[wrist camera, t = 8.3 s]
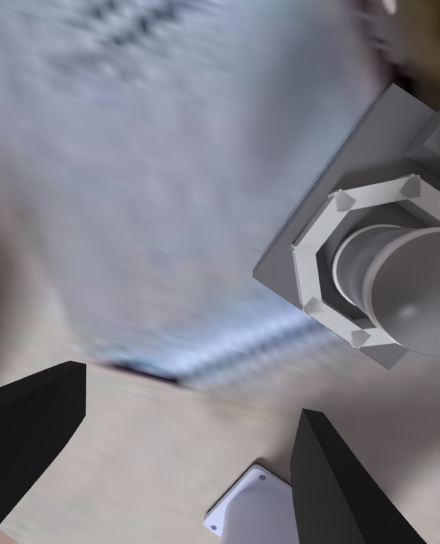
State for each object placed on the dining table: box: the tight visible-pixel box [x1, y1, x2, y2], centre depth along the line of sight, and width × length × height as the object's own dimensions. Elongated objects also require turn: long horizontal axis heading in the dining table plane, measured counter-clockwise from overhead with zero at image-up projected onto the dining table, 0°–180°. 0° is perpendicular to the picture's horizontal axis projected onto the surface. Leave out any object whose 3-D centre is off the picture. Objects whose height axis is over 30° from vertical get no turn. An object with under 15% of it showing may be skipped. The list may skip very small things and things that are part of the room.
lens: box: [331, 224, 440, 357], centre depth 12 cm, size 5×5×6 cm
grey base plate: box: [252, 83, 440, 370], centre depth 14 cm, size 10×12×4 cm
